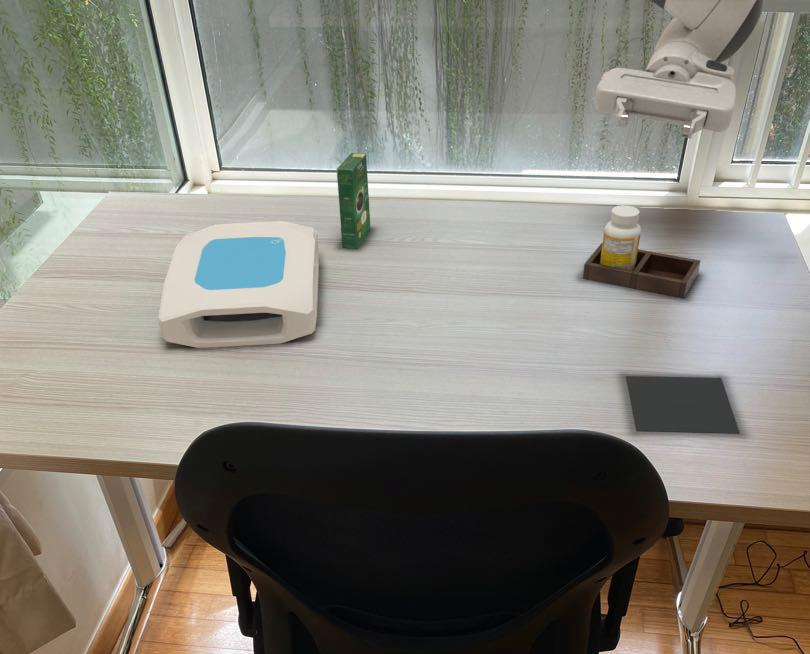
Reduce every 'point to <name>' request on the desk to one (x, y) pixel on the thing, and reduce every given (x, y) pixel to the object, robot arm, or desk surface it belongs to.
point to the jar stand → (647, 273)
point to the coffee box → (353, 200)
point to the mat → (680, 405)
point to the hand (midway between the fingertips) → (654, 127)
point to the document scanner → (241, 284)
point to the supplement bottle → (621, 238)
